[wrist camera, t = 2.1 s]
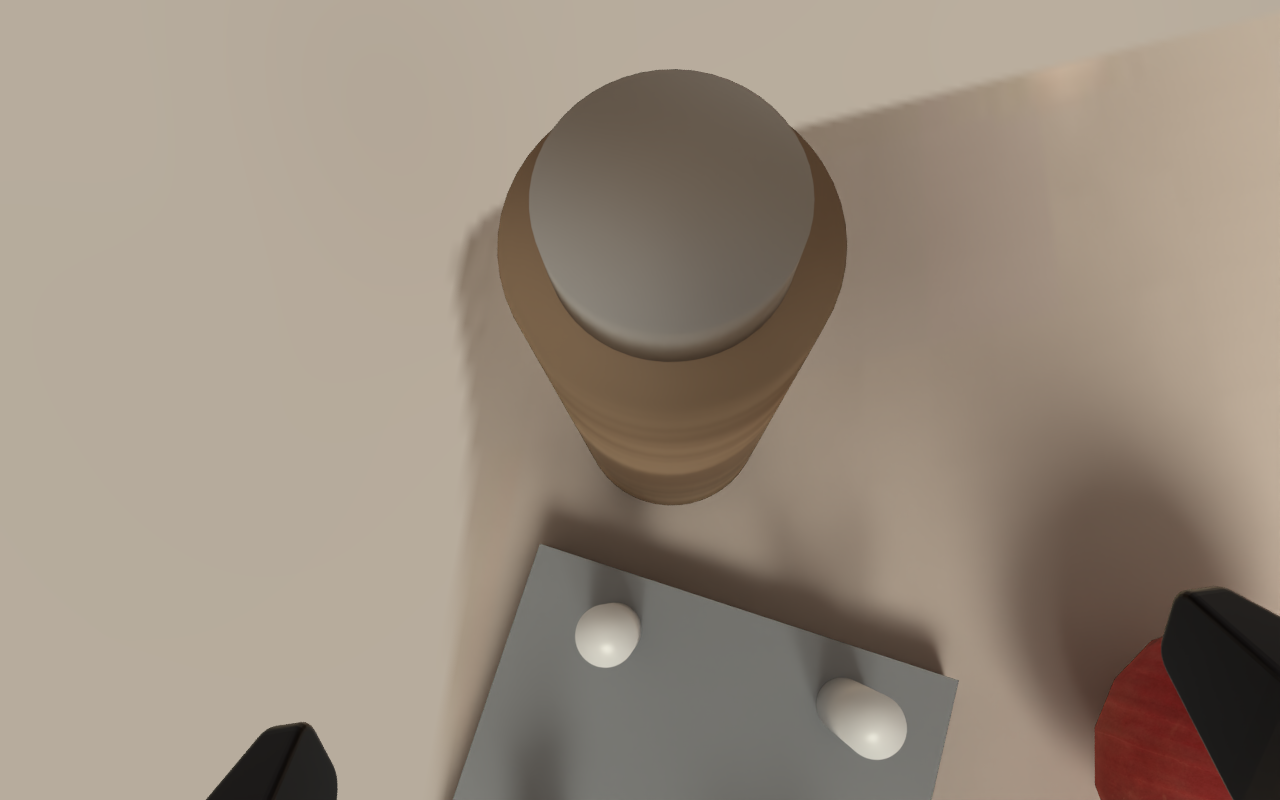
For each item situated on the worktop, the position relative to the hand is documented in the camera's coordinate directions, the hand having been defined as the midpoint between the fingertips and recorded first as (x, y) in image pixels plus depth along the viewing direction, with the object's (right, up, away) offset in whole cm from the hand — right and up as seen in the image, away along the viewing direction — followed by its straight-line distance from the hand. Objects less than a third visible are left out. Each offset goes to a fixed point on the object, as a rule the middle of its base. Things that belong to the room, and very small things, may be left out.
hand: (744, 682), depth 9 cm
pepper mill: (0, +2, +13) cm, 13 cm away
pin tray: (0, -6, +11) cm, 12 cm away
